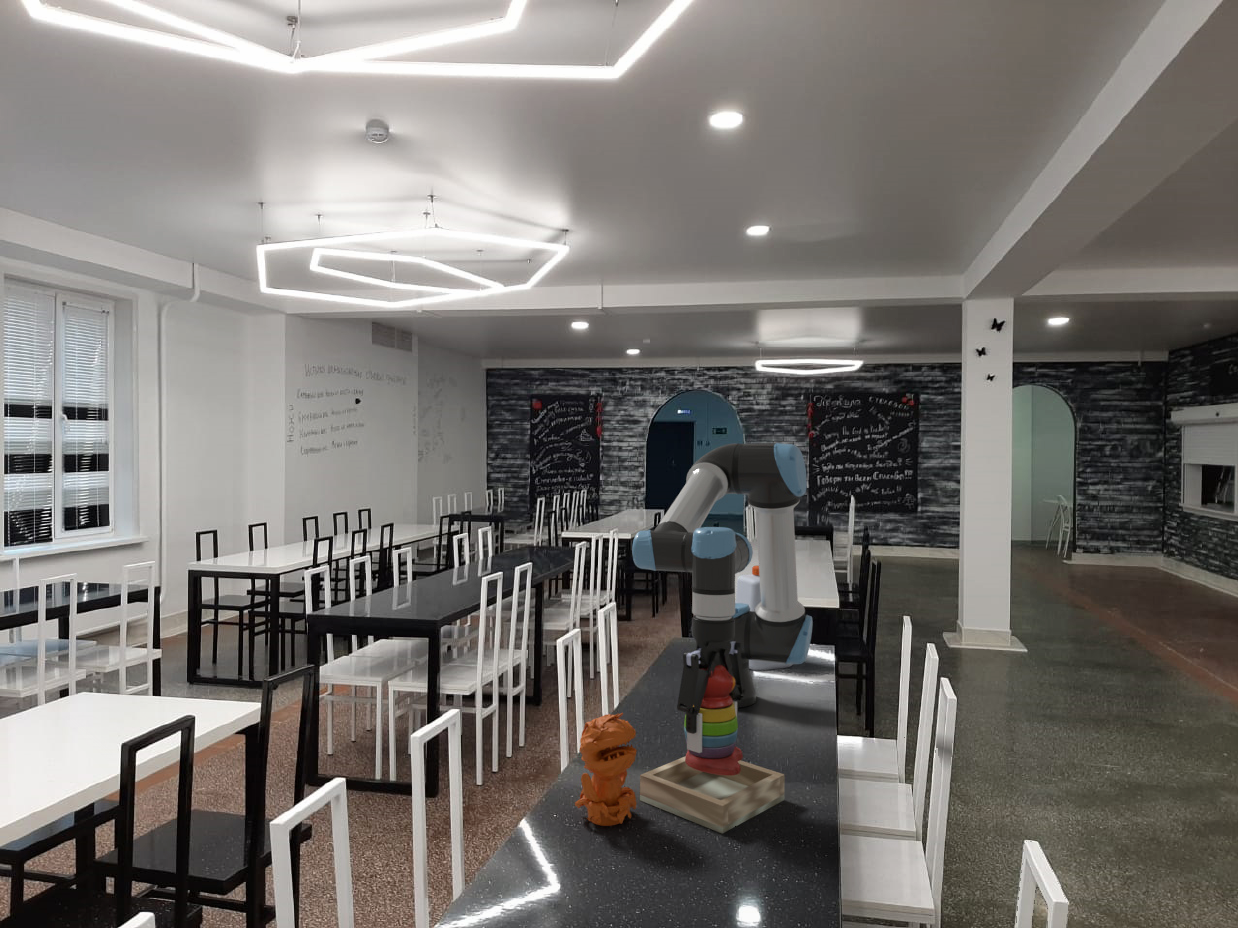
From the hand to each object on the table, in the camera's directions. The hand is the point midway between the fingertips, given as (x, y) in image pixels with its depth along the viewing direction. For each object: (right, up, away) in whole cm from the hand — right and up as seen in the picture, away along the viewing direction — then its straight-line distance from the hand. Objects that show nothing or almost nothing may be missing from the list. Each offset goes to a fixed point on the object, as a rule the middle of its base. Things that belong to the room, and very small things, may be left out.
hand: (712, 743), depth 146 cm
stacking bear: (0, -4, 0) cm, 4 cm away
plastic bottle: (+25, -9, +93) cm, 97 cm away
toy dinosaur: (-18, -10, -7) cm, 22 cm away
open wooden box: (0, -10, 0) cm, 10 cm away
